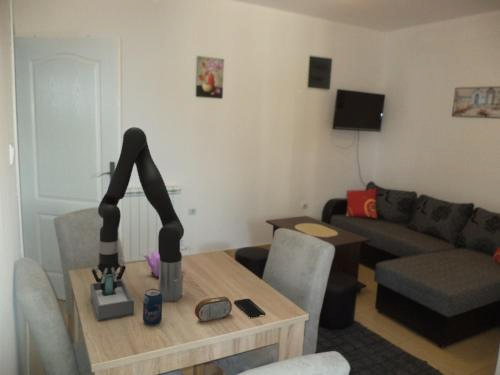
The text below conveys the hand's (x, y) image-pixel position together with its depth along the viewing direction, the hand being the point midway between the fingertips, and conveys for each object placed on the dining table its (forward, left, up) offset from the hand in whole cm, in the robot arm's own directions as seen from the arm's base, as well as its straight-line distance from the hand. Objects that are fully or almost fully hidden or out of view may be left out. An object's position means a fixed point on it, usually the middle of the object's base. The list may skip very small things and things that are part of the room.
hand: (108, 289), depth 158 cm
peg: (0, 0, -2) cm, 2 cm away
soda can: (-27, +8, -4) cm, 28 cm away
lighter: (+14, -23, -4) cm, 27 cm away
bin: (-5, +4, -4) cm, 8 cm away
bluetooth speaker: (-47, -4, -4) cm, 47 cm away
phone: (-57, -18, -5) cm, 60 cm away
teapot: (-6, -33, -4) cm, 34 cm away
